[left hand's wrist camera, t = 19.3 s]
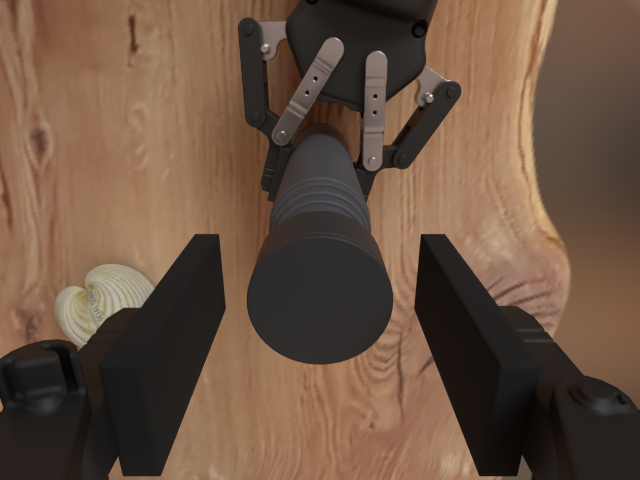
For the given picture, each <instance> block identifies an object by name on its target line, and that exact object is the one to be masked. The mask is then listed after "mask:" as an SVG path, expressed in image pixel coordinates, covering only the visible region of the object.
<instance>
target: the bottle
mask: <svg viewBox="0 0 640 480" xmlns="http://www.w3.org/2000/svg"><path fill="white" fill-rule="evenodd" d="M309 211H331V212H336V213H340V214H343V215H345V216H348V217H350V218H352V219H354V220H355V221H357V222H358V223H360V224H361V225H362V226H364V227H365V228H366V229H367V230H368V231H369V232H370V234H371V223H370V215H369V211H368V208H367V205H366V202H365V199H364V196H363V193H362V190H361V187H360V184H359V181H358V178H357V175H356V172H355V169H354V166H353V163H352V160H351V157H350V154H349V151H348V148H347V145H346V142H345V140H344V138H343V136H342V134H341V133H340V132H339V131H338V130H337V129H335V128H334V127H332V126H330V125H327V124H313V125H310V126H308V127H306V128H305V129H303V130H302V131H301V132H300V133H299V135H298V136H297V138H296V140H295V143H294V146H293V149H292V152H291V155H290V158H289V161H288V163H287V166H286V169H285V172H284V175H283V178H282V181H281V184H280V187H279V190H278V193H277V196H276V199H275V202H274V205H273V208H272V211H271V215H270V223H269V224H270V225H269V234H270V233H271V231H272V230H273V229H274V228H275V227H277V226H278V225H279V224H280V223H282V222H283V221H285V220H286V219H288V218H290V217H292V216H295V215H297V214H300V213H304V212H309Z"/></svg>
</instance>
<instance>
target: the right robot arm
mask: <svg viewBox="0 0 640 480" xmlns="http://www.w3.org/2000/svg"><path fill="white" fill-rule="evenodd" d="M437 1H438V0H300V1H299V3H298V5H297V6H296V8H295V9H294V10H293V11H292V12H291V14H290V15H289V16H288V18H287V21H266V22H258V21H255V20H254V19H252V18H244V19H243V20H241V22H240V23H239V26H238V34H239V46H240V58H241V70H242V82H243V94H244V106H245V118H246V121H247V123H248V124H249V125H250V126H252V127H256V128H257V129H259V130H260V131H261V132H263V133H264V134H265V135H266V136H267V137H268V139H269V143H270V146H269V150H268V155H267V159H266V163H265V167H264V171H263V176H262V180H261V185H262V190H264V191H268V192H269V196H268V201H271V202H275V199H276V196H277V193H278V190H279V187H280V184H281V181H282V178H283V175H284V172H285V169H286V166H287V163H288V161H289V158H290V155H291V151H292V147H293V144H291V140H292V137H293V135H294V134H295V132H296V130H297V129H298V127H299V125H300V124H301V122H302V120H303V119H304V117H305V116H306V114H307V113H308V111H309V109H310V108H311V106H312V104H313V103H314V101H315V99H317V100H321V101H324V102H335V103H342V104H344V105H345V106H347V107H348V108H350V109H352V110H354V111H358V112H360V154H359V158H358V161H357V162H353V166H354V169H355V172H356V175H357V178H358V181H359V184H360V187H361V190H362V193H363V196H364V199H365V202H367V199H368V196H369V193H370V190H371V187H372V184H373V181H374V178H375V175H376V174H377V173H378V172H379V171H380V170H382V169H384V168H396V167H397V168H398V169H406V168H408V167H409V166H410V165H411V163H412V162H413V161H414V159H415V158H416V157H417V155H418V154H419V152H420V151H421V150H422V148H423V147H424V145H425V144H426V143H427V141H428V140H429V139H430V137H431V136H432V134H433V133H434V132H435V130H436V129H437V128H438V126H439V125H440V123H441V122H442V121H443V119H444V118H445V116H446V115H447V114H448V112H449V111H450V110H451V108H452V107H453V105H454V104H455V103H456V101H457V100H458V99H459V97H460V95H461V87H460V85H459V84H458V83H457V82H454V81H450V80H446V79H445V78H443V77H442V76H441V75H439V74H438V73H436V72H435V71H434V70H432V69H431V68H430V67H428V66H427V65H426V53H425V38H426V34H427V31H428V28H429V25H430V22H431V19H432V16H433V13H434V10H435V7H436V4H437ZM285 39H287V40H288V43H289V46H290V48H291V51H292V54H293V57H294V60H295V62H296V65H297V68H298V71H299V73H300V76H301V79H302V82H301V83H300V85H299V87H298V88H297V90H296V92H295V94H294V95H293V97H292V99H291V100H290V102H289V104H288V106H287V108H286V109H285V111H284V113H283V114H282V116H281V117H279V116H278V115H276V114H275V113H274V112H272V111H271V110H270V109H269V95H268V79H267V63H266V60H272V59H273V58H275V56H276V55H277V50H278V46H279V44H280V42H281V41H283V40H285ZM413 80H416V81H417V85H418V88H417V91H416V93H415V97H414V99H415V102H416V104H417V105H418V107H417V109H416V110H415V112H414V113H413V114H412V116H411V117H410V119H409V120H408V122H407V123H406V124H405V126H404V127H403V129H402V130H401V132H400V133H399V135H398V136H397V137H396V139H395V140H394V142H393V143H392V145H385V146H383V133H384V126H385V103H386V102H387V101H388V100H389V99H391V98H392V97H393V96H394V95H396V94H397V93H398V92H399V91H401V90H402V89H403V88H405V87H406V86H407V85H408V84H410V83H411V82H412V81H413Z"/></svg>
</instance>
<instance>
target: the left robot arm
mask: <svg viewBox="0 0 640 480" xmlns="http://www.w3.org/2000/svg"><path fill="white" fill-rule="evenodd" d="M225 309H226V306H225V295H224V284H223V273H222V262H221V252H220V241H219V234H195V235H194V236H193V238H192V239H191V240H190V242H189V243H188V245H187V246H186V247H185V249H184V250H183V251H182V253H181V254H180V255H179V257H178V258H177V259H176V261H175V262H174V263H173V265H172V266H171V267H170V269H169V270H168V271H167V273H166V274H165V275H164V277H163V278H162V279H161V281H160V282H159V283H158V285H157V286H156V287H155V289H154V290H153V292H152V293H151V294H150V296H149V297H148V298H147V300H146V301H145V302H144V304H143V305H142V306H141V308H122V309H121V310H119V311H117V312H116V313H114V314H113V315H111V316H110V317H108V318H106V320H105V321H104V322H103V323H102V324H101V326H100V327H99V328H98V329H97V330H96V333H94V334H93V335H92V336H91V337H90V338H89V340H88V341H87V344H84V346H83V347H82V348H81V349H80V350H79V351H78V350H77V346H75V345H74V344H73V343H71V342H70V341H65V340H59V339H56V340H44V341H40V342H36V343H32V344H28V345H25V346H23V347H21V348H18V349H16V350H14V351H11V352H10V353H8V354H7V355H5V356H4V357H2V358H1V359H0V399H1V402H2V405H3V410H2V412H0V480H109V476H108V475H109V473H110V471H111V469H112V467H113V465H114V463H115V461H116V459H117V457H118V456H119V461H120V465H121V469H122V474H123V476H161V474H162V471H163V469H164V466H165V463H166V461H167V458H168V456H169V453H170V451H171V448H172V445H173V443H174V440H175V438H176V435H177V433H178V430H179V427H180V425H181V422H182V420H183V417H184V415H185V412H186V409H187V407H188V404H189V402H190V399H191V397H192V394H193V391H194V389H195V386H196V384H197V381H198V379H199V376H200V374H201V371H202V368H203V366H204V363H205V361H206V358H207V356H208V353H209V350H210V348H211V345H212V343H213V340H214V338H215V335H216V332H217V330H218V327H219V325H220V322H221V320H222V317H223V314H224V312H225ZM414 309H415V312H416V314H417V317H418V320H419V322H420V325H421V327H422V330H423V332H424V335H425V338H426V340H427V343H428V345H429V348H430V350H431V353H432V356H433V358H434V361H435V363H436V366H437V368H438V371H439V374H440V376H441V379H442V381H443V384H444V386H445V389H446V391H447V394H448V397H449V399H450V402H451V404H452V407H453V409H454V412H455V415H456V417H457V420H458V422H459V425H460V427H461V430H462V433H463V435H464V438H465V440H466V443H467V445H468V448H469V451H470V453H471V456H472V458H473V461H474V463H475V466H476V469H477V471H478V474H479V476H517V474H518V469H519V465H520V461H521V456H522V455H523V457H524V459H525V461H526V463H527V465H528V466H529V468H530V470H531V472H532V476H531V480H640V410H638V409H637V407H636V406H635V404H634V403H633V402H632V400H631V399H630V398H629V397H628V396H627V395H626V394H624V393H623V392H622V391H620V390H619V389H618V388H616V387H614V386H612V385H610V384H608V383H606V382H604V381H602V380H599V379H595V378H592V377H589V376H584V375H583V374H582V373H581V372H580V371H579V369H578V368H577V367H576V366H575V365H574V363H573V362H572V361H571V360H570V359H569V358H568V356H567V355H566V354H565V353H564V352H563V351H562V349H561V348H560V347H559V346H558V345H557V344H556V343H555V342H553V339H552V338H551V337H550V335H549V334H548V333H547V332H545V331H544V328H543V327H542V326H541V325H540V324H539V323H538V321H537V320H536V319H535V318H534V317H533V316H531V315H530V314H528V313H527V312H525V311H523V310H522V309H520V308H519V307H517V306H498V305H497V304H496V302H495V301H494V300H493V298H492V297H491V296H490V294H489V293H488V292H487V290H486V289H485V287H484V286H483V285H482V283H481V282H480V281H479V279H478V278H477V277H476V275H475V274H474V273H473V271H472V270H471V269H470V267H469V266H468V265H467V263H466V262H465V261H464V259H463V258H462V257H461V255H460V254H459V253H458V251H457V250H456V249H455V247H454V246H453V245H452V243H451V242H450V240H449V239H448V238H447V236H446V235H445V234H421V241H420V252H419V262H418V273H417V284H416V295H415V306H414Z"/></svg>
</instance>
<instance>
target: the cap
mask: <svg viewBox="0 0 640 480" xmlns="http://www.w3.org/2000/svg"><path fill="white" fill-rule="evenodd" d="M247 308H248V313H249V317H250V320H251V323H252V325H253V327H254V329H255V330H256V332H257V333H258V335H259V336H260V338H261V339H262V340H263V341H264V342H265V343H266V344H267V345H268V346H269V347H271V348H272V349H273V350H275V351H276V352H278V353H279V354H281V355H283V356H285V357H287V358H289V359H292V360H295V361H298V362H302V363H308V364H333V363H338V362H342V361H345V360H348V359H351V358H353V357H355V356H357V355H359V354H361V353H362V352H364V351H366V350H367V349H368V348H369V347H371V346H372V345H373V344H374V343H375V342H376V341H377V340H378V339H379V337H380V336H381V335H382V333H383V332H384V330H385V328H386V327H387V325H388V322H389V320H390V317H391V313H392V308H393V292H392V287H391V283H390V280H389V277H388V274H387V271H386V268H385V265H384V262H383V258H382V255H381V252H380V250H379V247H378V245H377V243H376V241H375V239H374V238H373V236H372V235H371V234H370V232H369V231H368V230H367V229H366V228H365V227H364V226H362V225H361V224H360V223H358V222H357V221H355V220H354V219H352V218H350V217H348V216H345V215H343V214H340V213H336V212H331V211H309V212H304V213H300V214H297V215H295V216H292V217H290V218H288V219H286V220H285V221H283V222H282V223H280V224H279V225H278V226H277V227H275V228H274V229H273V230H272V231H271V233H270V234H269V235H268V236H267V238H266V239H265V241H264V243H263V245H262V247H261V250H260V252H259V255H258V258H257V261H256V264H255V268H254V271H253V274H252V277H251V280H250V283H249V287H248V292H247Z"/></svg>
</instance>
